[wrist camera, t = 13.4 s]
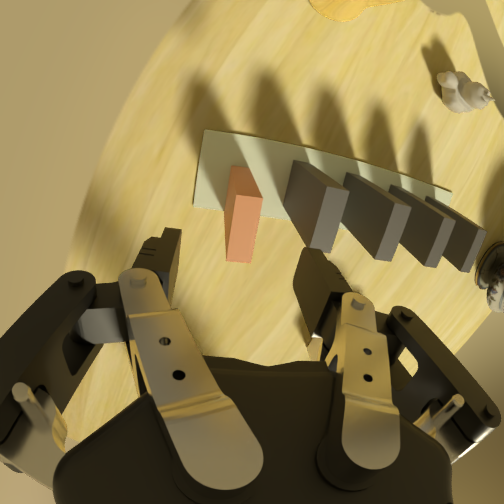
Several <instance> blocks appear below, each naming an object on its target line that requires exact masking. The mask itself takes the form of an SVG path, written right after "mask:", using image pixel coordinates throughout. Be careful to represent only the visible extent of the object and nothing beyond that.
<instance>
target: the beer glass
mask: <svg viewBox="0 0 504 504" xmlns="http://www.w3.org/2000/svg"><path fill="white" fill-rule="evenodd" d="M309 1H310V3H311V5H312V6H313V7H314V9H315V10H316V11H317V12H318V13H320V14H321V15H323V16H324V17H326V18H328V19H331V20H334V21H339V22H347V21H351V20H354V19H355V18H357V17H358V16H359V15H360V14H361V13H362V12H363V11H364V10H365V9H366V8H369V7H373V6H380V5H386V4H392V3H396V2H401V1H404V0H309Z"/></svg>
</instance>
